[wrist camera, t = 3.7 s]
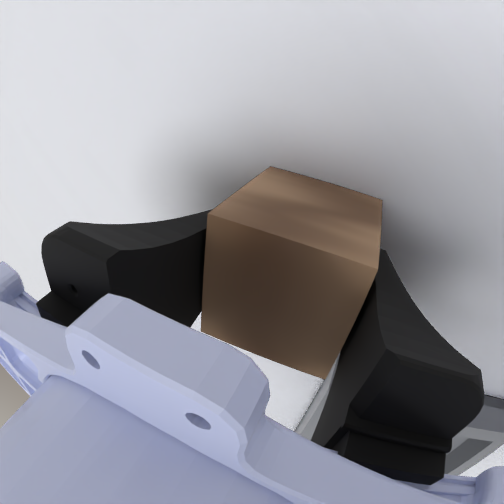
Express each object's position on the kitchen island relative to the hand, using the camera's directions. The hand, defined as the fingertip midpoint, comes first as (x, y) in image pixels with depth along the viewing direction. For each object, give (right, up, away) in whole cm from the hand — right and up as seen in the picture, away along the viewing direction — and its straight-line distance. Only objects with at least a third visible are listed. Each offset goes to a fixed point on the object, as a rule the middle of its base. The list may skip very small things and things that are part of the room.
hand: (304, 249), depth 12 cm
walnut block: (+1, +1, +1) cm, 1 cm away
